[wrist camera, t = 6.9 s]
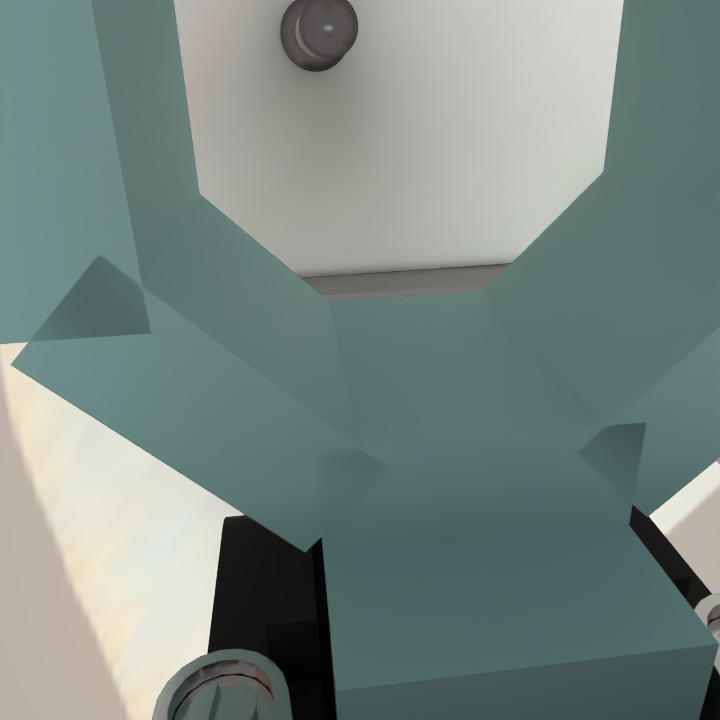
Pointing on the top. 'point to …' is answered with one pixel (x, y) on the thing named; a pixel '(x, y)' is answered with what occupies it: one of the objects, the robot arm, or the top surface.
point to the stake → (318, 32)
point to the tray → (406, 282)
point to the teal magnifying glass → (396, 373)
